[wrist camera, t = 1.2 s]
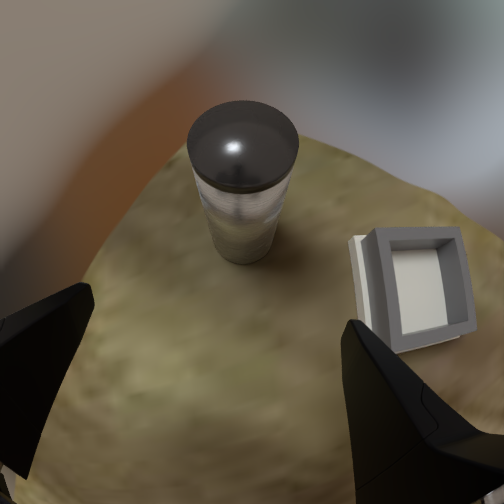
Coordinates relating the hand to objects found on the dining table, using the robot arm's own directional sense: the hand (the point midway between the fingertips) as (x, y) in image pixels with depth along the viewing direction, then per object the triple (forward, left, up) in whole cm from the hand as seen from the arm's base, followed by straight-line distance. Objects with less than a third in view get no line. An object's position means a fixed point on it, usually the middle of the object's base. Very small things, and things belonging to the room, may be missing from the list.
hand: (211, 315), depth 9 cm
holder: (+2, -15, -13) cm, 20 cm away
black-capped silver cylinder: (+8, -1, -13) cm, 15 cm away
